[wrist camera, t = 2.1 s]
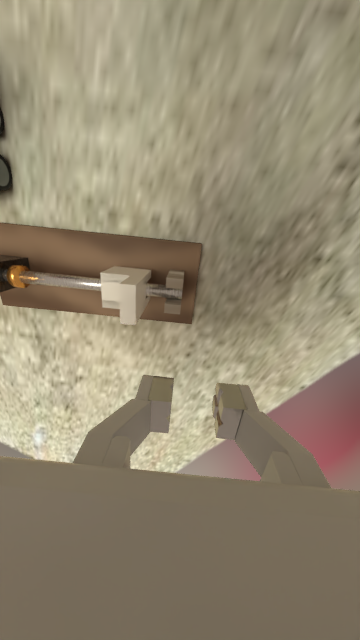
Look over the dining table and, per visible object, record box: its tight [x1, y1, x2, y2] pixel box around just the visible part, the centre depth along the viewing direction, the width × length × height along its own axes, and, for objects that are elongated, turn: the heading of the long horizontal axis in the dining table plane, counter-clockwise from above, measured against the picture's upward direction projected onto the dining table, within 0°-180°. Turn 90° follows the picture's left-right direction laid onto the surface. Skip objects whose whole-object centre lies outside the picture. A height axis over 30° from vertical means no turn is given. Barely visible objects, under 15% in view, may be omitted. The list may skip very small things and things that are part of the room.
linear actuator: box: [0, 223, 202, 324], centre depth 28 cm, size 12×30×8 cm, turn 85°
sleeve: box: [100, 266, 151, 325], centre depth 24 cm, size 4×5×9 cm
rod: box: [0, 255, 183, 299], centre depth 27 cm, size 4×26×6 cm, turn 85°
